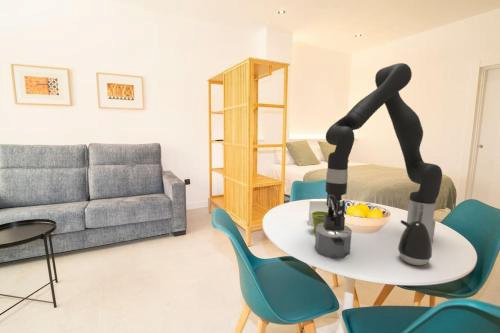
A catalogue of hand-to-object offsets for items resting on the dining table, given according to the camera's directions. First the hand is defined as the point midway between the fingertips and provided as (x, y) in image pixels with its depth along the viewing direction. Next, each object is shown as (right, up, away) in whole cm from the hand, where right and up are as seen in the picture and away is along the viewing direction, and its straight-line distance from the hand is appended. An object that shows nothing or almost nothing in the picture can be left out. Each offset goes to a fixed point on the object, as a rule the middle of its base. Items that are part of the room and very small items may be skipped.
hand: (333, 222), depth 100 cm
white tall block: (+2, -7, +29) cm, 30 cm away
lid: (0, -4, +1) cm, 4 cm away
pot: (0, -11, +2) cm, 12 cm away
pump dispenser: (+27, -13, -6) cm, 30 cm away
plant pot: (0, -9, +19) cm, 21 cm away
